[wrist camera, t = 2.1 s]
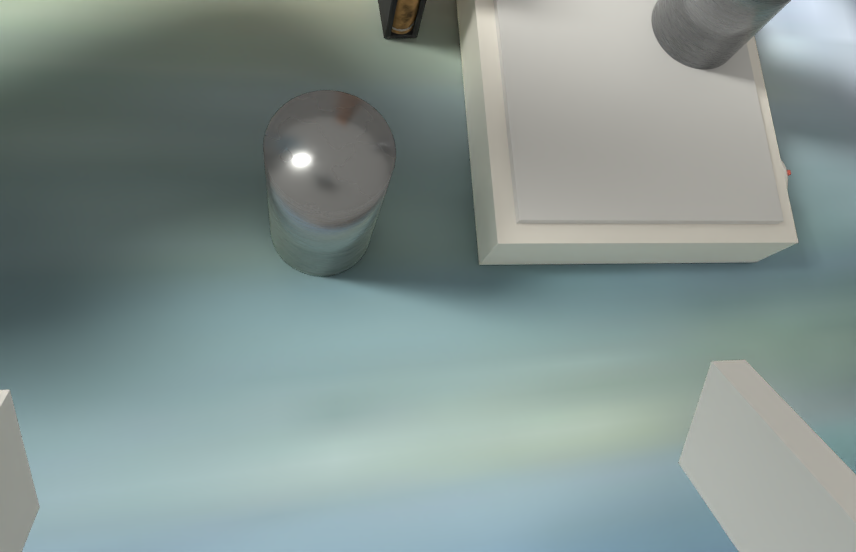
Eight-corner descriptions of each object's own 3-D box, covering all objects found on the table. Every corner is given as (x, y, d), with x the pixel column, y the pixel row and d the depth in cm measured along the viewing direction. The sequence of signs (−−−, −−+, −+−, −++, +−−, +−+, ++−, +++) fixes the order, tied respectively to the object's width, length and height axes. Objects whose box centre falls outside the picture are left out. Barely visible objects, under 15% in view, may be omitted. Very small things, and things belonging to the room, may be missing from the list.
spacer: (270, 277, 34) (263, 210, 26) (269, 181, 35) (263, 87, 27) (373, 275, 35) (399, 211, 27) (369, 182, 36) (392, 92, 28)
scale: (479, 264, 36) (500, 240, 32) (456, -2, 40) (473, -52, 37) (765, 262, 39) (815, 239, 36) (716, 15, 44) (756, -29, 40)
